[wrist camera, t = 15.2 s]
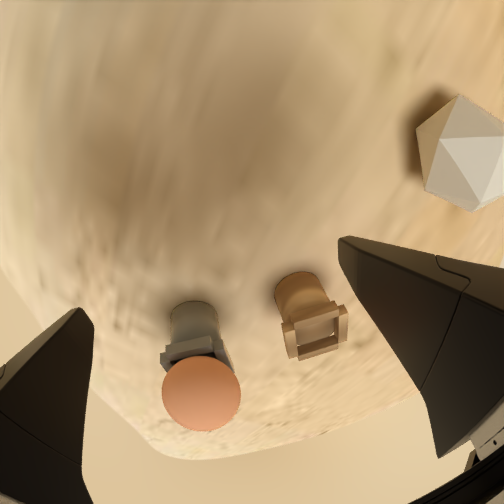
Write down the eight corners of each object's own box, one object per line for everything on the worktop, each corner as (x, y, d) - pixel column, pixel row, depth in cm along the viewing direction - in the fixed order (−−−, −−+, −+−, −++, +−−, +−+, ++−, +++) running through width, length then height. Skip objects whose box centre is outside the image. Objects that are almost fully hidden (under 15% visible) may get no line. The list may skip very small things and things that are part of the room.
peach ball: (264, 402, 23) (244, 355, 20) (217, 456, 19) (184, 418, 17) (212, 377, 27) (187, 330, 24) (167, 421, 23) (133, 379, 21)
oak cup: (266, 277, 27) (283, 326, 23) (322, 261, 28) (348, 306, 23) (274, 316, 30) (290, 363, 26) (324, 302, 31) (346, 345, 26)
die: (394, 191, 26) (487, 248, 21) (394, 130, 18) (526, 205, 13) (428, 127, 26) (513, 174, 21) (433, 61, 18) (544, 118, 13)
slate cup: (157, 305, 27) (156, 357, 22) (213, 291, 27) (221, 342, 22) (177, 341, 30) (180, 390, 25) (227, 329, 30) (236, 377, 25)
